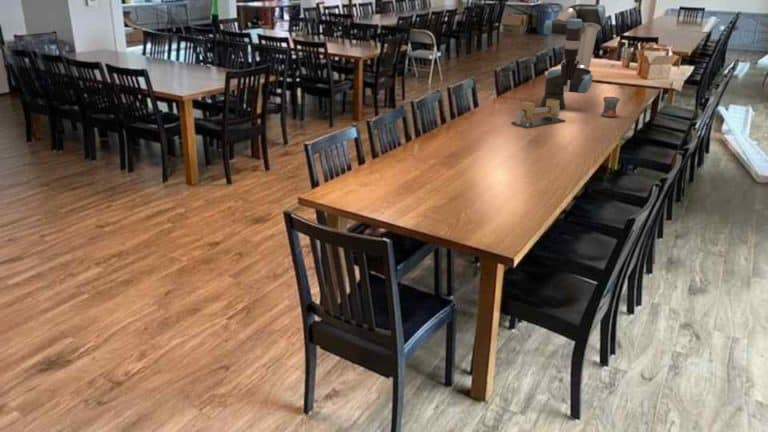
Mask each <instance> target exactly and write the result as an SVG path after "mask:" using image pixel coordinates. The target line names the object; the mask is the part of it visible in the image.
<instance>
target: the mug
mask: <svg viewBox="0 0 768 432" xmlns="http://www.w3.org/2000/svg"><path fill="white" fill-rule="evenodd" d="M602 98H603V99H602V100H603V102H604V103H603V104H604V106H603V110H602V112H601V115H602V116H604V117H607V118H615V117H617V107H618V104H619V102H620V100H621V98H620V97H616V96H604V97H602Z"/></svg>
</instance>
